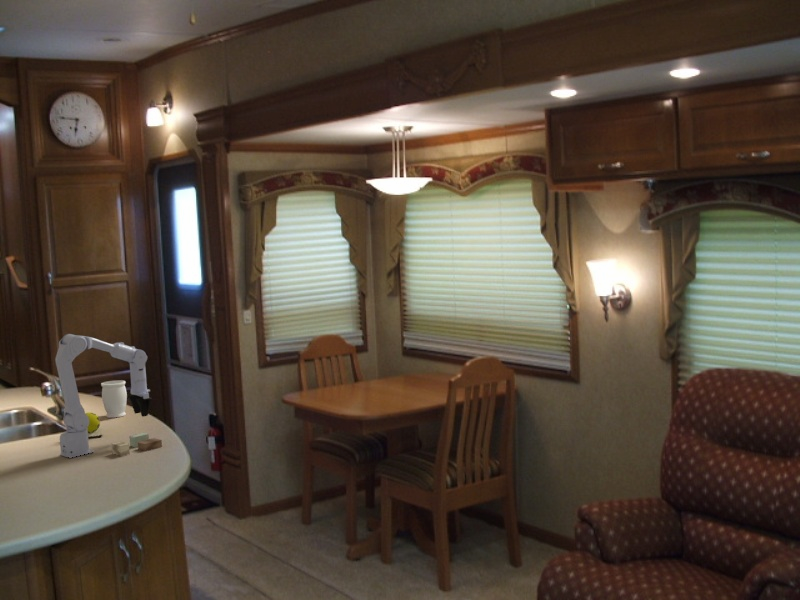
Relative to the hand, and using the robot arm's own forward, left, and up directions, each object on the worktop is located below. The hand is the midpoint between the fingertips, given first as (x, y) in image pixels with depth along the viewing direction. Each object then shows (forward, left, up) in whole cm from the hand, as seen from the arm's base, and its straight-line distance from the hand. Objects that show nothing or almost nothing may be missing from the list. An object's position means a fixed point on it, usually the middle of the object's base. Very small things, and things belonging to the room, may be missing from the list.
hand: (141, 414), depth 349 cm
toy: (-5, +32, -10) cm, 34 cm away
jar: (+16, +50, -10) cm, 53 cm away
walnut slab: (-5, -14, -10) cm, 18 cm away
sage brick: (-5, -7, -10) cm, 13 cm away
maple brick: (-16, -13, -10) cm, 23 cm away
